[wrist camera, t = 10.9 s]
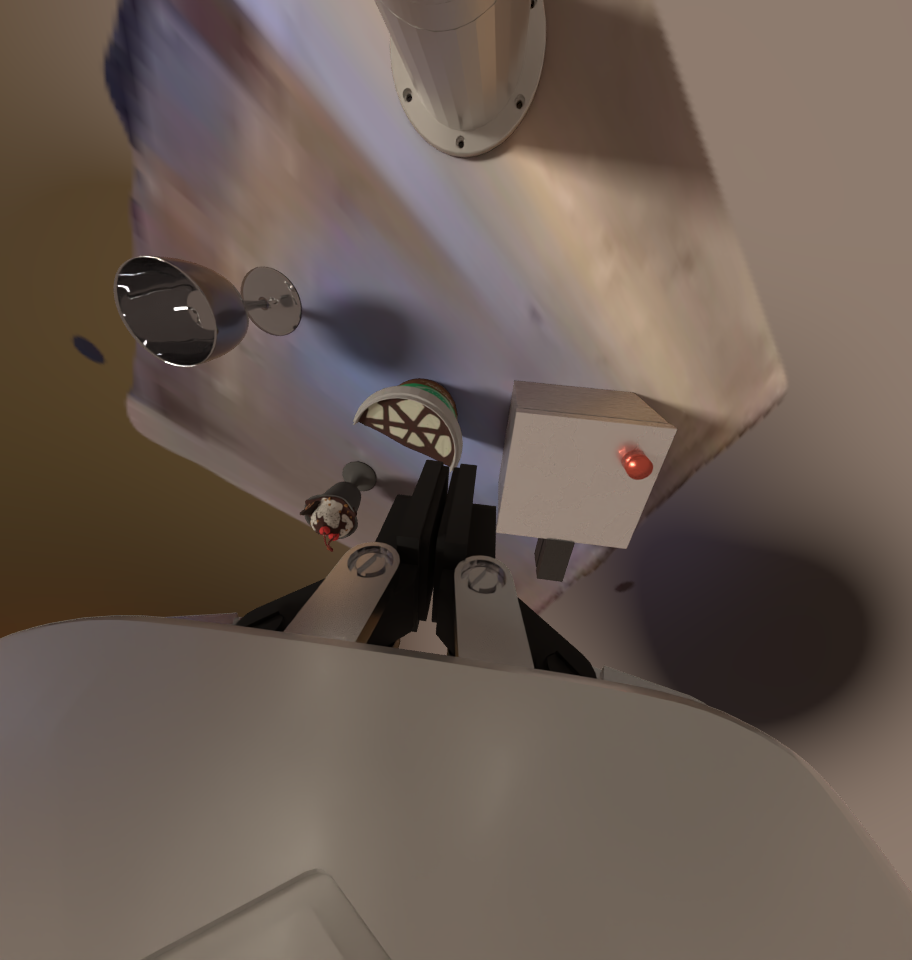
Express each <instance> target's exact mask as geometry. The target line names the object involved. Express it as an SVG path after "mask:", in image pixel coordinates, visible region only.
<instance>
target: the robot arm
mask: <svg viewBox="0 0 912 960" xmlns="http://www.w3.org/2000/svg"><path fill="white" fill-rule="evenodd" d="M375 2H376V4H377V7H378V9H379V11H380V13H381V15H382V18H383V20H384V22H385V24H386V26H387V29H388V31H389V33H390V59H391V69H392V74H393V79H394V84H395V88H396V91H397V94H398V97H399V100H400V102H401V105H402V107H403V109H404V111H405V113H406V115H407V117H408V119H409V120H410V122H411V124H412V125H413V127H414V128H415V130H416V131H417V132H418V133H419V134H420V135H421V136H422V138H423V139H424V140H425V141H426V142H427V143H429V144H430V145H431V146H433V147H434V148H436V149H437V150H439V151H441V152H443V153H446V154H448V155H451V156H458V157H471V156H478V155H480V154H483V153H486V152H488V151H491V150H492V149H494V148H495V147H497V146H498V145H500V144H501V143H503V142H504V141H505V140H506V139H507V138H508V137H509V136H510V135H511V134H512V133H513V132H514V131H515V129H516V128H517V126H518V125H519V124H520V122H521V121H522V119H523V118H524V116H525V115H526V113H527V111H528V109H529V107H530V105H531V103H532V101H533V98H534V95H535V92H536V89H537V87H538V84H539V81H540V76H541V71H542V67H543V61H544V54H545V46H546V17H545V10H544V2H543V0H375ZM531 3H532V4H533V5H534V8H532V9H530V8H531ZM409 96H412V100H411V101H410V102H407V98H408V97H409ZM519 102H520V103H522V107H521V109H518V108H517V107H516V105H517V103H519ZM460 142H463V143H464V147H463V148H459V143H460ZM476 469H477V465H468V464H461V465H460V468H457V467H454V469H453V473H452V477H451V481H450V486H449V490H448V477H449V467H448V466H443V462H442V461H433V460H426V463H425V465H424V468H423V470H422V473H421V475H420V478H419V480H418V483H417V485H416V488H415V490H414V493H413V496H406V495H397V497H396V498H395V501H394V503H393V505H392V507H391V509H390V511H389V513H388V516H387V518H386V520H385V522H384V524H383V526H382V528H381V531H380V533H379V535H378V537H377V539H376V541H375V542H366V543H363V544H359V545H357V546H355V547H353V548H351V549H350V550H349V551H348V552H347V553H346V554H345V555H344V556H343V557H342V558H341V560H340V561H339V562H338V563H337V565H336V566H335V567H334V569H333V570H332V571H331V572H330V574H329V575H328V576H327V577H326V578H325V579H323V580H320V581H318V582H316V583H313V584H311V585H309V586H306V587H304V588H302V589H300V590H297V591H295V592H293V593H290V594H288V595H286V596H283V597H281V598H279V599H277V600H274V601H272V602H270V603H267V604H265V605H263V606H261V607H258V608H256V609H254V610H253V611H251V612H249V613H247V614H246V615H245V616H244V617H240V618H239V617H238V614H237V613H228V614H227V613H226V614H210V615H195V616H194V615H193V616H177V617H151V616H119V615H116V616H103V617H88V618H79V619H73V620H67V621H61V622H55V623H50V624H46V625H42V626H38V627H34V628H30V629H27V630H23V631H20V632H17V633H13V634H10V635H8V636H6V637H3V638H1V639H0V960H912V893H911V891H910V890H909V888H908V887H907V886H906V884H905V883H904V881H903V880H902V879H901V877H900V876H899V874H898V873H897V871H896V870H895V868H894V867H893V866H892V864H891V863H890V862H889V860H888V859H887V857H886V856H885V854H884V853H883V852H882V850H881V849H880V848H879V847H878V845H877V844H876V842H875V841H874V840H873V838H872V837H871V836H870V834H869V833H868V832H867V830H866V829H865V828H864V826H863V825H862V824H861V822H860V821H859V820H858V818H857V817H856V816H855V814H854V813H853V812H852V811H851V809H850V808H849V807H848V806H847V805H846V803H845V802H844V801H843V800H842V799H841V797H840V796H839V795H838V794H837V793H836V792H835V790H834V789H833V788H832V787H831V786H830V785H829V784H828V783H827V782H826V780H825V779H824V778H823V777H822V776H821V775H820V774H819V773H818V772H817V771H816V770H815V769H814V768H812V766H811V765H810V764H808V763H807V762H806V761H804V759H802V758H801V757H800V756H799V755H797V754H796V753H795V752H794V751H792V750H791V749H789V748H788V747H786V746H785V745H783V744H782V743H780V742H779V741H777V740H776V739H774V738H772V737H771V736H769V735H767V734H766V733H764V732H762V731H760V730H759V729H757V728H755V727H753V726H751V725H749V724H747V723H745V722H743V721H741V720H739V719H737V718H735V717H733V716H731V715H729V714H727V713H725V712H722V711H720V710H717V709H714V708H712V707H709V706H707V705H706V704H705V703H703V702H701V701H699V700H697V699H695V698H693V697H691V696H689V695H686V694H683V693H680V692H677V691H674V690H672V689H669V688H666V687H663V686H660V685H658V684H655V683H652V682H649V681H646V680H643V679H641V678H638V677H635V676H632V675H629V674H626V673H624V672H621V671H618V670H615V669H612V668H610V667H607V666H603V668H602V670H600V669H598V668H595V667H592V665H591V664H590V662H589V661H588V660H587V659H586V658H585V657H584V656H583V655H582V654H581V653H580V652H579V651H578V650H577V649H576V648H575V647H574V646H572V645H571V644H570V643H569V642H568V641H567V640H566V639H565V638H563V637H562V636H561V635H560V634H558V632H557V631H555V630H554V629H553V628H552V627H551V626H549V624H547V623H546V622H545V621H544V620H543V619H542V618H541V617H540V616H538V615H537V614H536V613H535V612H534V611H533V610H532V609H530V608H529V607H528V606H527V605H526V604H525V603H524V602H523V601H521V600H520V599H519V598H518V597H517V594H516V590H515V585H514V581H513V577H512V575H511V572H510V570H509V569H508V568H507V567H506V565H505V564H503V563H502V562H500V561H499V560H497V559H495V542H496V506H489V505H481V504H473V495H474V486H475V478H476ZM447 491H448V494H447ZM433 587H434V589H433ZM432 592H433V608H432V622H436V623H437V627H436V635H437V636H438V637H439V638H440V640H441V641H442V642H443V643H444V644H445V646H446V647H447V656H446V655H439V654H433V653H425V652H419V651H412V650H405V649H399V646H400V642H401V637H403V636H405V635H406V634H408V633H410V632H411V631H413V632H417V629H418V624H419V620H421V621H426V619H427V615H428V611H429V605H430V601H431V596H432Z"/></svg>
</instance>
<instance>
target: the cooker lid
mask: <svg viewBox="0 0 912 960" xmlns="http://www.w3.org/2000/svg"><path fill="white" fill-rule="evenodd" d="M676 431H677V428H675V427H674V426H673V425H672V424H665V423H655V422H646V421H636V420H627V419H617V418H608V417H599V416H589V415H580V414H570V413H561V412H551V411H542V410H532V409H523V408H516V410H515V416H514V422H513V428H512V434H511V440H510V446H509V452H508V458H507V464H506V470H505V476H504V482H503V488H502V494H501V500H500V506H499V512H498V518H497V524H496V532H497V533H505V534H513V535H521V536H529V537H537V538H544V541H543V545H542V549H541V553H540V557H539V560H538V564H537V568H536V574H537V578H538V579H546V580H553V581H561V582H562V581H563V578H564V575H565V572H566V568H567V565H568V562H569V559H570V556H571V553H572V550H573V547H574V544H575V543H574V542H576V543H584V544H592V545H600V546H608V547H616V548H624V549H627V546H628V544H629V542H630V539H631V537H632V535H633V532H634V530H635V528H636V525H637V523H638V521H639V518H640V516H641V513H642V511H643V509H644V506H645V504H646V502H647V499H648V497H649V495H650V492H651V490H652V488H653V485H654V483H655V481H656V478H657V476H658V474H659V471H660V469H661V467H662V464H663V462H664V459H665V457H666V455H667V452H668V450H669V448H670V445H671V443H672V441H673V438H674V436H675V434H676Z"/></svg>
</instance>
